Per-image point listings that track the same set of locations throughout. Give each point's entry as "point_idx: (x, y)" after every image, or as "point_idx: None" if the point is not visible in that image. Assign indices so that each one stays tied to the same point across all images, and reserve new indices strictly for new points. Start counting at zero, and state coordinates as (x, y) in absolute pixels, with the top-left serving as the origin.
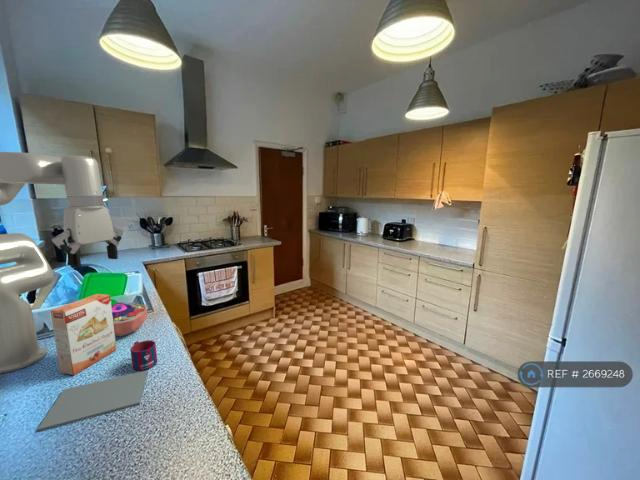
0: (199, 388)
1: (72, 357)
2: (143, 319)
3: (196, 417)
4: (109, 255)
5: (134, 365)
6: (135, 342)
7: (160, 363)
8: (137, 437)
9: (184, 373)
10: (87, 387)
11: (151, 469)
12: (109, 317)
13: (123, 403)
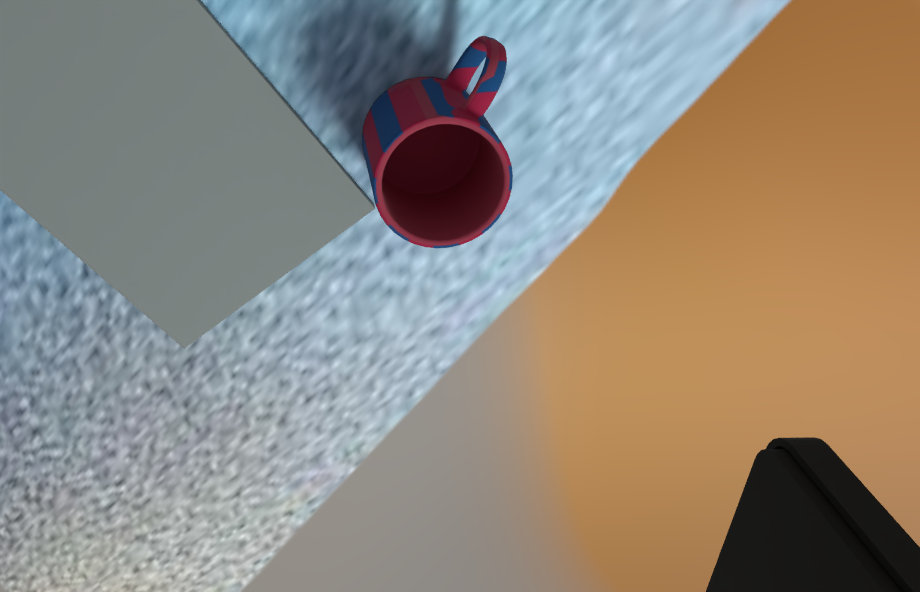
0: (340, 477)
1: None
2: None
3: (212, 552)
4: (782, 542)
5: (364, 145)
6: (485, 76)
7: None
8: (65, 456)
9: (408, 368)
10: (160, 11)
11: (6, 567)
12: None
13: (151, 295)
